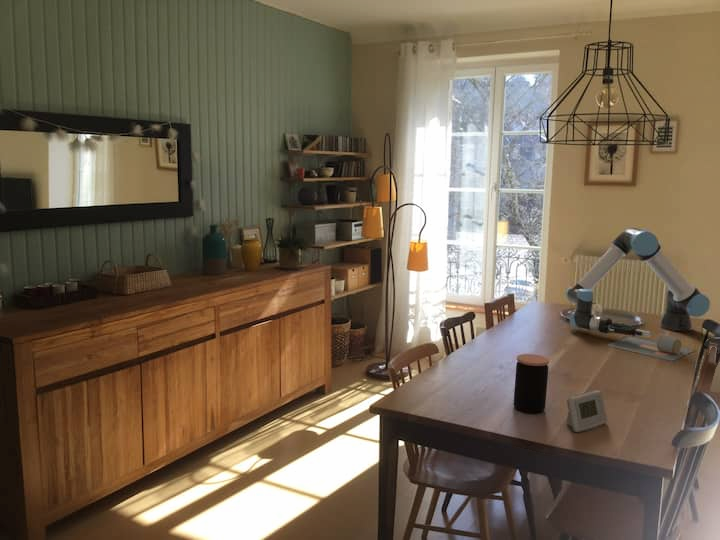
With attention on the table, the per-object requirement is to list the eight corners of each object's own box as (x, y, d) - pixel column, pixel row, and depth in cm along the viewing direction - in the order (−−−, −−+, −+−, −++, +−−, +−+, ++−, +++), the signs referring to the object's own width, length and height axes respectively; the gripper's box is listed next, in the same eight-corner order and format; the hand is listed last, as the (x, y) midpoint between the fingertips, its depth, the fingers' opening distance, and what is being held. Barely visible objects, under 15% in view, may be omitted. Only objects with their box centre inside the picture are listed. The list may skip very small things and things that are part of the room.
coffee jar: (550, 408, 227) (554, 358, 224) (535, 417, 219) (540, 365, 216) (522, 400, 234) (526, 351, 231) (507, 408, 226) (511, 358, 223)
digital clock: (574, 434, 206) (577, 402, 204) (555, 423, 215) (558, 392, 213) (614, 428, 212) (618, 396, 211) (595, 417, 221) (598, 387, 219)
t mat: (629, 337, 324) (629, 336, 324) (693, 351, 303) (693, 351, 303) (606, 345, 308) (606, 345, 308) (672, 361, 286) (672, 360, 286)
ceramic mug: (673, 356, 293) (675, 339, 292) (655, 351, 300) (657, 334, 299) (684, 352, 300) (687, 336, 299) (667, 348, 306) (669, 332, 305)
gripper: (606, 329, 327) (654, 340, 310) (594, 334, 318) (642, 345, 301) (608, 315, 326) (656, 325, 309) (595, 319, 317) (644, 329, 300)
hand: (649, 335), depth 305 cm, fingers closed
